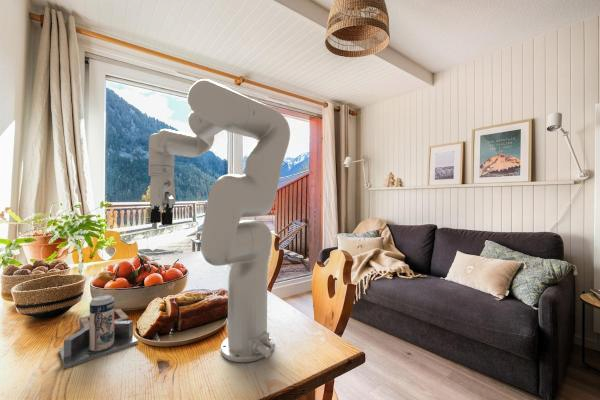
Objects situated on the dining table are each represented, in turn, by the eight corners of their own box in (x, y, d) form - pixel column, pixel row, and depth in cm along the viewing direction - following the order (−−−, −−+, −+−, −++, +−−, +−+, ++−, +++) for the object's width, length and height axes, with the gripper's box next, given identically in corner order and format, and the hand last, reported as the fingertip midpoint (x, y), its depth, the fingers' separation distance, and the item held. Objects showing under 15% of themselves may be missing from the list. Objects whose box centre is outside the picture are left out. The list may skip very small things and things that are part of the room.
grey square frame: (128, 328, 76) (129, 317, 76) (85, 341, 69) (85, 329, 69) (119, 317, 82) (119, 308, 82) (79, 328, 75) (79, 318, 75)
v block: (137, 343, 68) (138, 324, 68) (64, 369, 57) (64, 346, 57) (126, 330, 74) (126, 313, 74) (59, 351, 64) (59, 331, 64)
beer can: (98, 354, 61) (98, 302, 61) (84, 350, 63) (84, 299, 63) (118, 343, 66) (119, 295, 66) (105, 340, 68) (105, 292, 68)
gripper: (184, 171, 86) (183, 224, 86) (163, 174, 97) (162, 221, 97) (159, 169, 80) (158, 226, 80) (140, 172, 92) (139, 222, 92)
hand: (161, 223), depth 89 cm, fingers open, 9 cm apart
